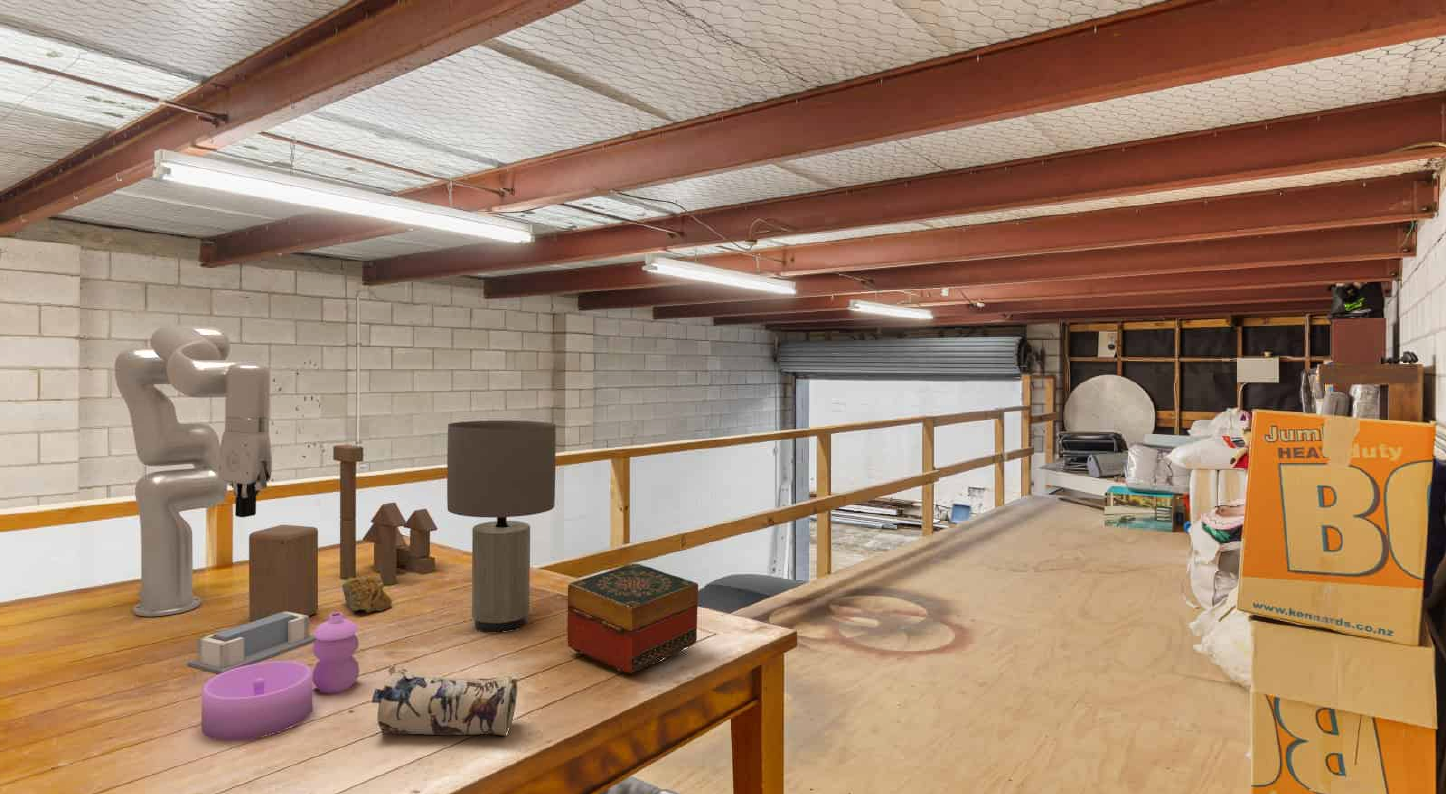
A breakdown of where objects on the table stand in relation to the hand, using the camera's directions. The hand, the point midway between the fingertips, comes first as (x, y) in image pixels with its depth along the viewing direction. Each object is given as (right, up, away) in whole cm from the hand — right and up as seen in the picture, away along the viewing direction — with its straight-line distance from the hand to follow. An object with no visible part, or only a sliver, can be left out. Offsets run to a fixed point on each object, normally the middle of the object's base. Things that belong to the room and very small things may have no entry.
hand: (245, 515), depth 155 cm
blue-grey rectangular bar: (+4, -26, -4) cm, 26 cm away
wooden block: (-1, -26, +16) cm, 30 cm away
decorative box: (+78, -28, -1) cm, 83 cm away
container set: (+24, -28, -26) cm, 45 cm away
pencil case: (+53, -29, -34) cm, 70 cm away
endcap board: (+4, -26, -4) cm, 27 cm away
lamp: (+47, -27, +15) cm, 56 cm away
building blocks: (+6, -24, +52) cm, 58 cm away
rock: (+13, -26, +25) cm, 38 cm away
